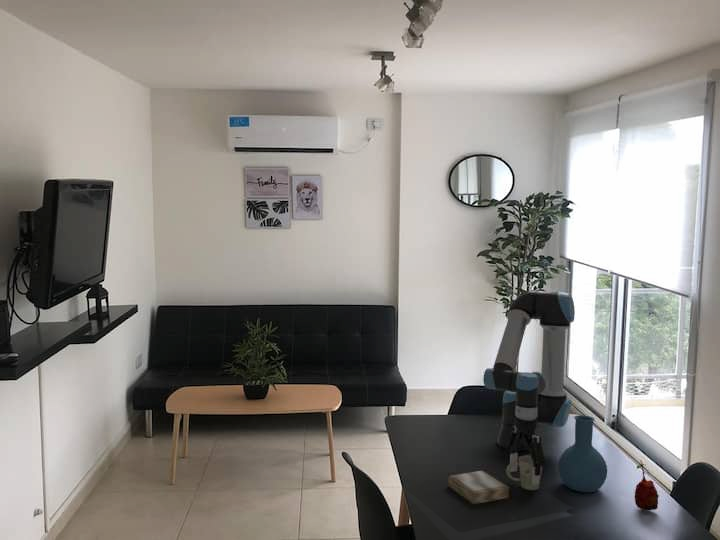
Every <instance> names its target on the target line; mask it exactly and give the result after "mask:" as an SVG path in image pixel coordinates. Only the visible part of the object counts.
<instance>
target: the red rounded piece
mask: <svg viewBox="0 0 720 540" xmlns="http://www.w3.org/2000/svg"><path fill="white" fill-rule="evenodd" d="M646 465H647V463H645V464H643V462H642V460H640V463H639V464H638V465H636V469H640V468H641V471H642V479H641V481H638V483H637V484H636V486H635V490H634V503H635V505H636V507H637V508H638V509H640V510H641V511H654V510H655V511H656V510H657V509H658V505H659V497H660V496H659V493H658V490H657V488H656V487H655V484H654V481H653V480H651V479H649V480H647V479H646V476H645V474H646V473H645V471H644V466H646Z"/></svg>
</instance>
